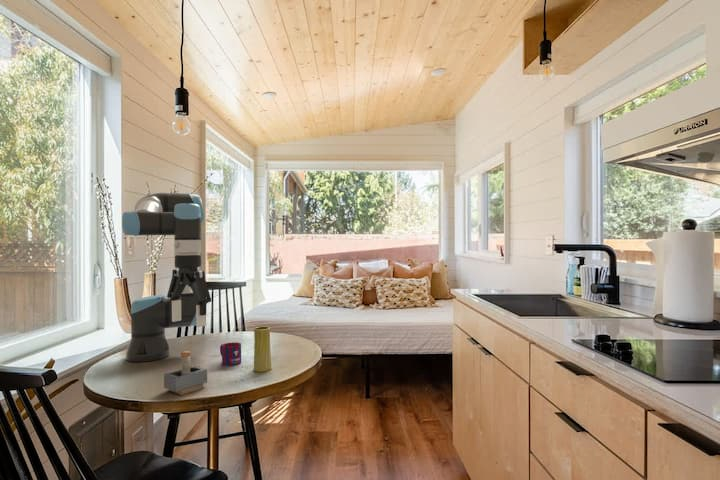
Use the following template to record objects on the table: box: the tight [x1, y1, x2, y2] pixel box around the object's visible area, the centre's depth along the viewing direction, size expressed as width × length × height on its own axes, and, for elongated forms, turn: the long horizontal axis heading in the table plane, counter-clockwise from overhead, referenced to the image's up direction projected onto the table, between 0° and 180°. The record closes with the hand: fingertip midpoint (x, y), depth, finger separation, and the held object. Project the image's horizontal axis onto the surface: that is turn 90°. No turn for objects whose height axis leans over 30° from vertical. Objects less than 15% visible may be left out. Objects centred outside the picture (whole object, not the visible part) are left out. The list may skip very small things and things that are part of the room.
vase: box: [253, 326, 272, 373], centre depth 142 cm, size 6×6×14 cm
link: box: [163, 365, 208, 393], centre depth 124 cm, size 6×10×4 cm, turn 144°
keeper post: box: [168, 350, 204, 396], centre depth 124 cm, size 7×7×11 cm
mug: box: [219, 341, 242, 367], centre depth 152 cm, size 7×10×7 cm
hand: (188, 323), depth 127 cm, fingers open, 13 cm apart
